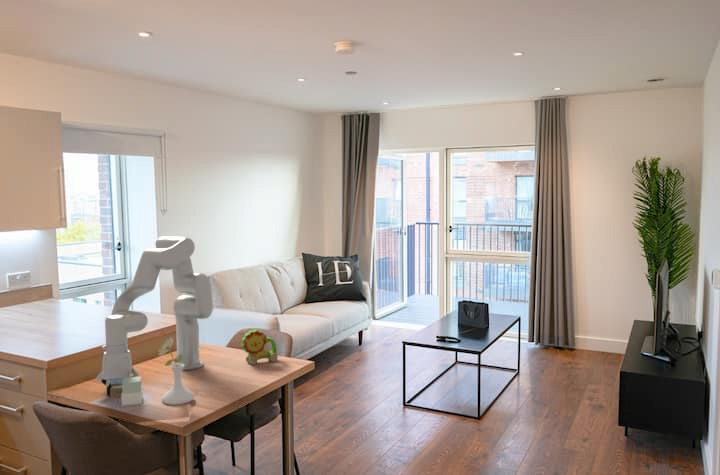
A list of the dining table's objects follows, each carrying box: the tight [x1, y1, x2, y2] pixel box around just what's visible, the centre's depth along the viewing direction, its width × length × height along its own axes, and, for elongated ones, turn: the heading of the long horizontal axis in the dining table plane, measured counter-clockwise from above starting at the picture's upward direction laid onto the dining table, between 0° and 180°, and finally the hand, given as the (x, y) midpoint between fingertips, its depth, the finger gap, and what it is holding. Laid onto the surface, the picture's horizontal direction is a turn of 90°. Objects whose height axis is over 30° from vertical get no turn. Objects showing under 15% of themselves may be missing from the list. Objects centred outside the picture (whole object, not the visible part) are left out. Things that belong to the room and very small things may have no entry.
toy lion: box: [241, 329, 278, 366], centre depth 256 cm, size 16×5×15 cm, turn 120°
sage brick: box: [122, 376, 143, 394], centre depth 205 cm, size 6×6×4 cm
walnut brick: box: [109, 383, 123, 397], centre depth 213 cm, size 5×5×4 cm
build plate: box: [115, 394, 149, 409], centre depth 206 cm, size 10×10×1 cm
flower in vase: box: [157, 336, 195, 406], centre depth 206 cm, size 13×11×25 cm
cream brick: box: [120, 386, 144, 405], centre depth 205 cm, size 6×6×4 cm
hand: (118, 394), depth 213 cm, fingers closed on walnut brick, 5 cm apart
